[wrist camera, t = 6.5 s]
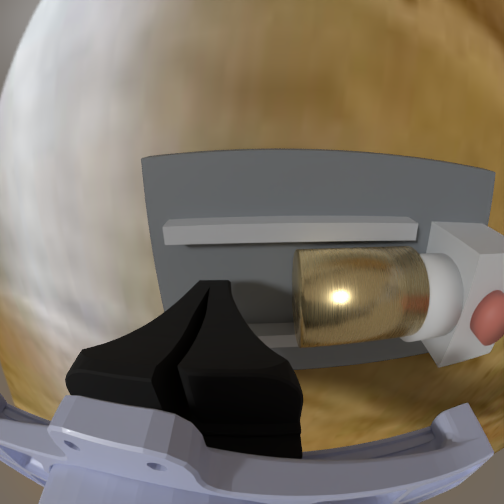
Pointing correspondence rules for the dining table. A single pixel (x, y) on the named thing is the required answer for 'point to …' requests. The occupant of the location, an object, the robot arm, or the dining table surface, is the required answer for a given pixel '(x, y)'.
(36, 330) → the dining table surface
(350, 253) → the brass fitting
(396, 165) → the valve board
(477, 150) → the dining table surface
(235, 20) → the dining table surface
